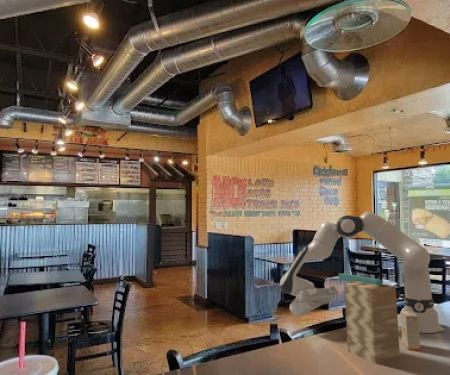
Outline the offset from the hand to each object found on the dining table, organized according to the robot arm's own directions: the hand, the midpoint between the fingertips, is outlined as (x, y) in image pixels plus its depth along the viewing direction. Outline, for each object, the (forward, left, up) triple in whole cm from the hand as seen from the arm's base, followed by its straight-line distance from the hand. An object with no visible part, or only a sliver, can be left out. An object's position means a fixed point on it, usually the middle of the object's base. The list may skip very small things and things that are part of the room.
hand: (325, 288), depth 164 cm
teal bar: (+14, +16, +6) cm, 22 cm away
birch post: (+17, +20, -20) cm, 34 cm away
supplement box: (+2, +33, -21) cm, 39 cm away
